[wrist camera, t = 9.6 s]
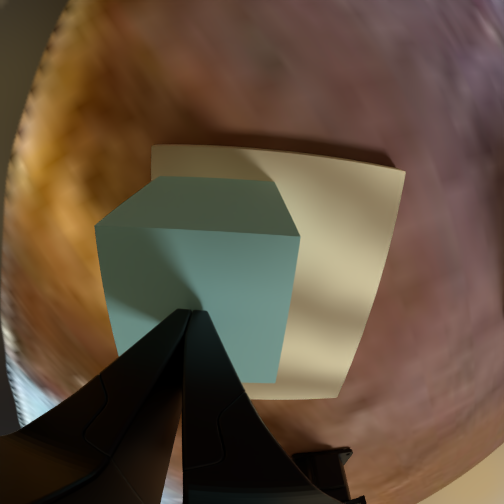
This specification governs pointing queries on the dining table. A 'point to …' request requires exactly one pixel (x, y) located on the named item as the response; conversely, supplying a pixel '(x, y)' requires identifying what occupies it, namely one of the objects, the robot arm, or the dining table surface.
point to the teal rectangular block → (203, 264)
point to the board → (313, 251)
